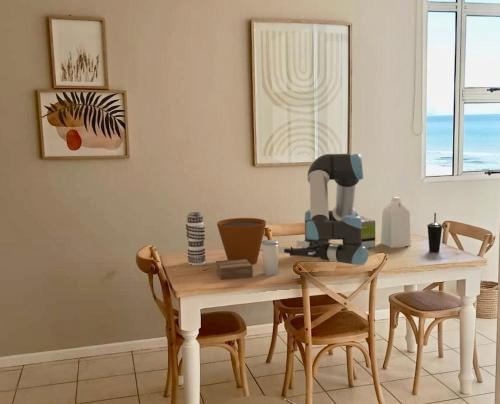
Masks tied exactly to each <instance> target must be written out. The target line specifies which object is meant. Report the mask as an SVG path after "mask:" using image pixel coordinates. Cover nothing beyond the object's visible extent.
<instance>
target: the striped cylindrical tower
mask: <svg viewBox="0 0 500 404" xmlns="http://www.w3.org/2000/svg"><path fill="white" fill-rule="evenodd" d="M186 218H187V221H186V224H185V230H186V237H187V238H186V239H187V242H188V245H187V248H188V249H187V255H188V256H187V261H188V263H189V264H188V265H190V264H192V265H191V266H200V265H201V264H202V265H205V264H206V255H205V254H206V251H205V250H206V248H205V243H204V242H205V239H206V238H205V236H206V234H204V233H205V232H206V231H205V230H204V229H206V228H205V226H204V215H203V214H202V212H201V211H200V212H199V211H193V212H192V211H191V212H189V213H188V214H187V215H186Z"/></svg>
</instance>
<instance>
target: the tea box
mask: <svg viewBox="0 0 500 404" xmlns="http://www.w3.org/2000/svg"><path fill="white" fill-rule="evenodd" d="M358 216H359V215H358ZM359 217H360V218H361V225H362V240H361V242H362V246H363V247H366V248H367V249H368V248H370V249H371V248H376V220H374V219H371V218H369V217H366V216H359Z"/></svg>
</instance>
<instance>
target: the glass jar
mask: <svg viewBox="0 0 500 404" xmlns="http://www.w3.org/2000/svg"><path fill="white" fill-rule="evenodd" d="M261 247H262V275H263V276H266V277H274V276H278V275H279V273H280V272H279V240H275V239H265V240H262V243H261Z"/></svg>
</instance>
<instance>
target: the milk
mask: <svg viewBox="0 0 500 404" xmlns="http://www.w3.org/2000/svg"><path fill="white" fill-rule="evenodd" d="M381 213H382V214H381V231H380V232H381V233H380V234H381V235H380V244H381V245H384V246H386V247H389V248H390V249H392V248H394V249H396V248H404V247H405V246H408V247H411V246H412V245H411V244H412V243H411V241H412V240H411V222H410V221H411V219H410V217H411V215H410V214H411V213H410V211H409V210H408V208H406V207H405V206H404V205H403V204H402V202H401V197H397V196H392V197H391V200H390V202H389V203H388V204H387V205H386V206H385V207H384V208H383V209H382V212H381ZM395 247H396V248H395ZM405 248H406V247H405Z"/></svg>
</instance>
